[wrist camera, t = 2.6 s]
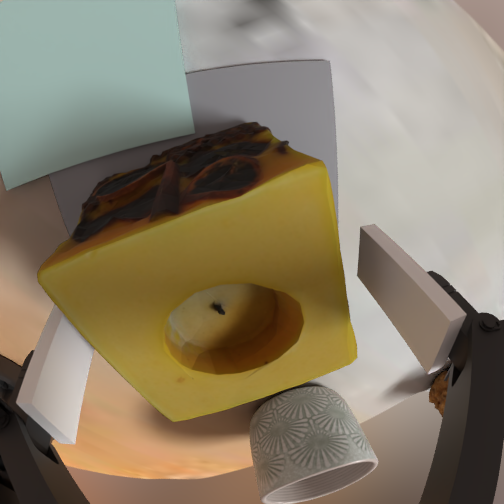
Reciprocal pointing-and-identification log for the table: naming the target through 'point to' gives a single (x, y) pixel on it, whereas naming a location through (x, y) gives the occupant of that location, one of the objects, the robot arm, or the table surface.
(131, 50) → the pad
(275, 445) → the planter
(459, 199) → the table surface
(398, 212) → the table surface
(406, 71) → the table surface
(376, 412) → the table surface
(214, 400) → the candle
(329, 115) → the gray mat
